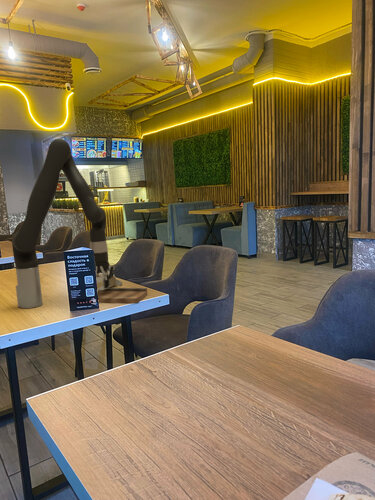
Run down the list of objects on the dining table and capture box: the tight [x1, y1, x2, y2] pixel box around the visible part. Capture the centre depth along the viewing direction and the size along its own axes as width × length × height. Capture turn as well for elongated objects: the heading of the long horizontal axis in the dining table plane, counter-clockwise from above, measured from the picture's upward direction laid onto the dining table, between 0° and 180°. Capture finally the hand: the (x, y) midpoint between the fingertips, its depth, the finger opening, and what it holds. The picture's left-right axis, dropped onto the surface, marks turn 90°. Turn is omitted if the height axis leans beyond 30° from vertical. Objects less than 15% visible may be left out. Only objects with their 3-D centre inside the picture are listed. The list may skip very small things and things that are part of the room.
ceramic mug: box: [100, 270, 123, 288], centre depth 200 cm, size 11×8×8 cm
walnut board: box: [97, 287, 148, 304], centre depth 174 cm, size 24×14×3 cm, turn 77°
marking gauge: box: [96, 273, 107, 291], centre depth 175 cm, size 4×10×6 cm, turn 168°
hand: (102, 287), depth 178 cm, fingers closed on marking gauge, 4 cm apart
